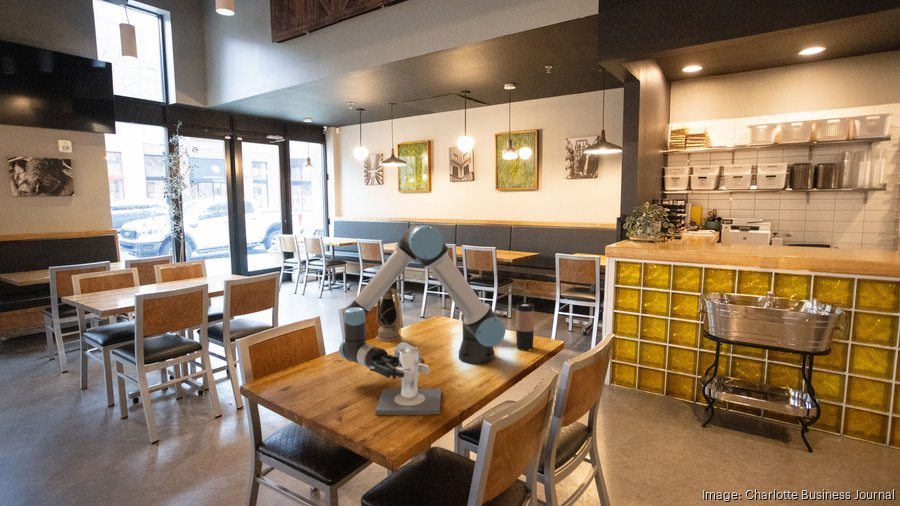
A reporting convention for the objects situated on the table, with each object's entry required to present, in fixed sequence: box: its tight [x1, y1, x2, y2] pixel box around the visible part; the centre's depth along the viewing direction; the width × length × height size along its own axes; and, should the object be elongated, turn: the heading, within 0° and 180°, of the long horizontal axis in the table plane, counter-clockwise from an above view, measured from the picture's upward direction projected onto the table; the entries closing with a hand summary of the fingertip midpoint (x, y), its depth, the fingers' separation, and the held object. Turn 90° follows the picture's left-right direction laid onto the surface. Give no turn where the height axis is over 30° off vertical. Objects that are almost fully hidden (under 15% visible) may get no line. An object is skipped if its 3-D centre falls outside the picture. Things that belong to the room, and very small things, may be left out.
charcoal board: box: [374, 388, 442, 416], centre depth 152 cm, size 20×16×2 cm
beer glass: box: [397, 346, 421, 399], centre depth 151 cm, size 7×7×15 cm
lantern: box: [375, 285, 402, 343], centre depth 221 cm, size 14×12×30 cm
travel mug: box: [515, 302, 535, 351], centre depth 205 cm, size 8×8×20 cm
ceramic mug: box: [393, 341, 423, 362], centre depth 190 cm, size 11×8×8 cm
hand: (420, 373), depth 147 cm, fingers closed on beer glass, 7 cm apart
